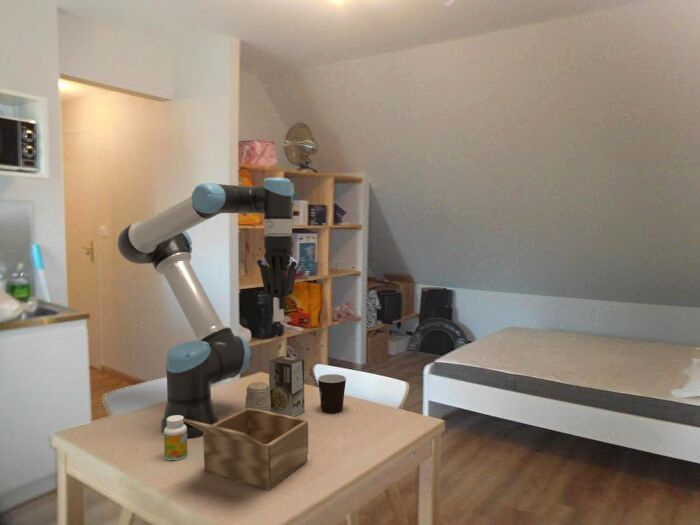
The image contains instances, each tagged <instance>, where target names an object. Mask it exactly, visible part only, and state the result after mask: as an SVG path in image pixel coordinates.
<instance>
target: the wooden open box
mask: <svg viewBox="0 0 700 525" xmlns="http://www.w3.org/2000/svg"><path fill="white" fill-rule="evenodd" d="M212 425H214V426H218V427H222V428H226V429H230V430H235V431H239V432H243V433H246V434H248V435H250V436H251V437H253V438H255V439H256V440H258V441H260V442H261V443H263V444H265V445H264V447H262V446H258V445H254V444H250V443H246V442H242V441H238V440H234V439H230V438H226V437H222V436H218V435H214V434H210V433H206V432H203V435H202V436H203V464H204V465H203V466H204V468H203V469H204V473H206V474H209V475H212V476H216V477H219V478H224V479H227V480H230V481H234V482H237V483H240V484H243V485H247V486H251V487H254V488H256V489H261V490H264V491H268V492H269V491H270V490H271V489H272V488H274V487H275V486H276V485H278V484H280V482H281V481H283V480H284V479H286V478H288V476H290V475H291V474H292V473H293V472H295V471H296V470H297V469H299V468H300V467H301V466H302V465H304V464H306V463H307V462H308V455H309V421H308V420H307V419H305V418H299V417H296V416H294V417H292V416H287V415H282V414H277V413H273V412H268V411H263V410H258V409H253V408H247V409H245V408H243V409H241V410H238V411H237V412H235V413H233V414H230V415H229V416H227V417H225V418H222V419H221V420H218V422H216V423H214V424H212Z"/></svg>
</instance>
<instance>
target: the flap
mask: <svg viewBox="0 0 700 525" xmlns="http://www.w3.org/2000/svg"><path fill="white" fill-rule="evenodd" d="M182 421H184V422H186V423H188V424H190V425H191V426H193V427H195V428H197V429H199V430H201V431H203V432H206V433H210V434H214V435H218V436H222V437H226V438H230V439H234V440H238V441H242V442H246V443H250V444H254V445H258V446H262V447H264V445H265V444H263V443H261V442H260V441H258V440H256V439H255V438H253V437H251V436H250V435H248V434H246V433H243V432H239V431H235V430H230V429H226V428H222V427H218V426H214V425H209V424H205V423H201V422H197V421H193V420H188V419H184V418H183V420H182Z"/></svg>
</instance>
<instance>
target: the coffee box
mask: <svg viewBox="0 0 700 525" xmlns="http://www.w3.org/2000/svg"><path fill="white" fill-rule="evenodd" d="M268 382H269V383H268V385H269V387H270V397H271V410H270V412H273V413H277V414H282V415H287V416H292V417H296V416H298V415H300V414H302V413H303V414H304V412H305V360H304V359H301V358H296V357H290V356H289V357H288V356H283V355H281V356H277V357H275V358H273V359H270V360H268Z"/></svg>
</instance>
